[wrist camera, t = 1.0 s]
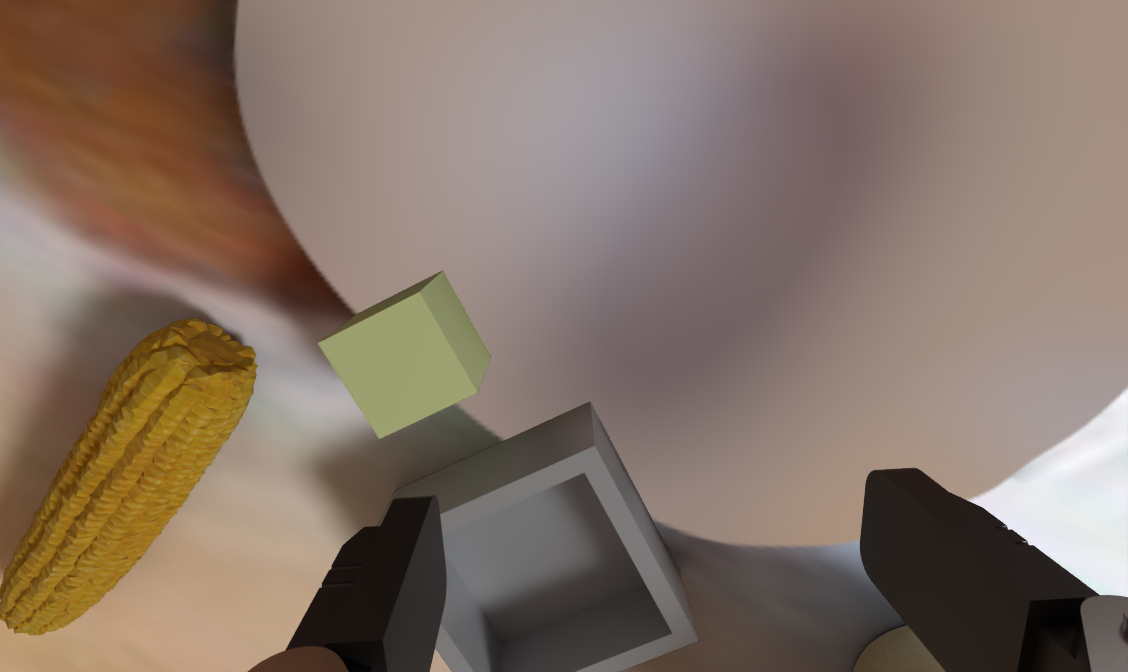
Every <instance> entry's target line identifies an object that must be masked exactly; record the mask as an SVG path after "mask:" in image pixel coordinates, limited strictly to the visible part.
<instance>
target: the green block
mask: <svg viewBox="0 0 1128 672" xmlns="http://www.w3.org/2000/svg"><path fill="white" fill-rule="evenodd" d="M318 345H319V346H320V348H321V350H322V351H323V353H324V354H325V356H326V357H327V359H328V360H329V362H330V364H331V365H332V367H333V368H334V370H335V371H336V373H337V374H338V376H339V377H340V379H341V381H342V382H343V384H344V385H345V387H346V388H347V390H348V391H349V393H350V394H351V396H352V398H353V399H354V401H355V402H356V404H357V405H358V407H359V408H360V410H361V411H362V413H363V415H364V416H365V418H366V419H367V421H368V422H369V424H370V425H371V427H372V428H373V430H374V432H375V433H376V435H377V436H378V438H379V439H381V438H383V437H385V436H387V435H389V434H391V433H394V432H396V431H398V430H400V429H402V428H404V427H406V426H408V425H410V424H413V423H415V422H417V421H419V420H421V419H423V418H425V417H427V416H430V415H432V414H434V413H436V412H438V411H440V410H442V409H444V408H447V407H449V406H451V405H453V404H455V403H457V402H459V401H461V400H464V399H465V398H468V397H470V396H472V395H474V394H476V393H478V390H479V388H480V385H481V382H482V380H483V377H484V374H485V372H486V369H487V366H488V364H489V361H490V358H491V355H490V353H489V351H488V349H487V347H486V346H485V344H484V342H483V340H482V339H481V337H480V335H479V333H478V331H477V330H476V328H475V326H474V324H473V323H472V321H471V319H470V317H469V315H468V314H467V312H466V310H465V308H464V307H463V305H462V303H461V301H460V299H459V298H458V296H457V294H456V292H455V290H454V289H453V287H452V285H451V283H450V282H449V280H448V278H447V276H446V274H445V273H444V271H441V272H439V273H437V274H435V275H433V276H431V277H429V278H428V279H425V280H423V281H421V282H419V283H417V284H415V285H413V286H411V287H409V288H407V289H405V290H403V291H401V292H399V293H398V294H395V295H394V296H392V297H390V298H388V299H386V300H384V301H382V302H380V303H378V304H376V305H374V306H372V307H370V308H368V309H366V310H364V311H362V312H360V313H358V314H356V315H355V316H354V317H352V318H351V319H350V320H348V321H347V322H346V323H344V324H343V325H342V326H340V327H339V328H338V329H336V330H335V331H333V332H332V333H331V334H329V335H328V336H327V337H325V338H324V339H323V340H321V341H320V342H319V343H318Z"/></svg>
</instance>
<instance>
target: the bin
mask: <svg viewBox="0 0 1128 672" xmlns="http://www.w3.org/2000/svg"><path fill="white" fill-rule="evenodd" d="M427 495H436V497H437V499H438V503H439V509H440V517H441V526H442V535H443V544H444V553H445V562H446V572H447V589H446V600H445V606H444V611H443V615H442V619H441V624H440V628H439V633H438V637H437V641H436V646H435V648H436V650H437V651H438V653H439V654H440V656H441V657H442V658H443V660H444V661H445V663H446V664H447V666H448V667H449V669H450V670H451V671H452V672H620V671H623V670H625V669H628V668H630V667H633V666H636V665H638V664H641V663H643V662H646V661H648V660H651V659H654V658H656V657H659V656H661V655H664V654H667V653H669V652H672V651H674V650H677V649H679V648H682V647H685V646H687V645H690V644H692V643H695V642H698V641H699V639H698V635H697V632H696V628H695V624H694V621H693V617H692V614H691V610H690V606H689V603H688V599H687V595H686V592H685V588H684V585H683V581H682V577H681V574H680V572H679V570H678V568H677V566H676V564H675V562H674V560H673V558H672V556H671V554H670V552H669V551H668V549H667V547H666V545H665V543H664V541H663V539H662V537H661V535H660V533H659V531H658V530H657V528H656V526H655V524H654V522H653V520H652V518H651V516H650V514H649V512H648V510H647V509H646V507H645V505H644V503H643V501H642V499H641V497H640V495H639V493H638V491H637V489H636V488H635V486H634V484H633V482H632V480H631V478H630V476H629V475H628V472H627V470H626V468H625V467H624V465H623V463H622V461H621V459H620V457H619V455H618V453H617V451H616V449H615V448H614V446H613V444H612V442H611V440H610V438H609V436H608V434H607V432H606V430H605V428H604V426H603V425H602V423H601V421H600V419H599V417H598V415H597V413H596V411H595V409H594V407H593V405H592V404H591V402H588V403H586V404H583V405H581V406H579V407H577V408H575V409H572V410H570V411H568V412H566V413H564V414H562V415H559V416H557V417H555V418H553V419H551V420H548V421H546V422H544V423H542V424H540V425H537V426H535V427H533V428H531V429H529V430H526V431H524V432H522V433H520V434H518V435H516V436H514V437H511V438H509V439H507V440H505V441H502V442H500V443H498V444H496V445H494V446H491V447H489V448H487V449H485V450H483V451H480V452H478V453H476V454H474V455H472V456H470V457H467V458H465V459H463V460H461V461H459V462H456V463H454V464H452V465H450V466H448V467H445V468H443V469H441V470H439V471H437V472H434V473H432V474H430V475H428V476H426V477H424V478H421V479H419V480H417V481H415V482H413V483H410V484H408V485H406V486H404V487H402V488H399V489H397V490H395V491H394V493H393V495H392V497H391V499H390V501H389V503H388V505H387V507H386V509H385V511H384V513H383V515H382V517H381V519H380V521H379V522H378V524H377V526H381V524H382V522H383V520H384V517H385V515H386V513H387V511H388V509H389V507H390V505H391V502H392V500H393V499H394V498H395V497H410V496H427Z"/></svg>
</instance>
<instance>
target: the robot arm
mask: <svg viewBox="0 0 1128 672" xmlns="http://www.w3.org/2000/svg"><path fill="white" fill-rule="evenodd" d="M860 553H861V559H862V562H863V566H864V568H865V571H866V573H867V575H868V577H869V578H870V580H871V581H872V582H873V584H874V585H875V586H876V587H877V588H878V590H879V591H880V592H881V593H882V595H883V596H884V597H885V598H886V599H887V601H888V602H889V603H890V604H891V606H892V607H893V608H894V609H895V610H896V612H897V613H898V614H899V615H900V617H901V618H902V619H903V620H904V621H905V623H906V624H907V625H908V626H909V628H910V629H911V630H912V631H913V632H914V634H915V635H916V636H917V637H918V639H919V640H920V641H921V642H922V643H923V645H924V646H925V647H926V648H927V650H928V651H929V652H930V653H931V654H932V656H933V657H934V658H935V659H936V661H937V662H938V663H939V664H940V665H941V667H942V668H943V669H944V670H945V672H1128V597H1123V596H1114V595H1099V594H1098V593H1096V592H1095V591H1094V590H1092V589H1091V588H1090V587H1088V586H1087V585H1086V584H1084V583H1083V582H1082V581H1080V580H1079V579H1078V578H1076V577H1075V576H1074V575H1072V574H1071V573H1070V572H1068V571H1067V570H1065V569H1064V568H1063V567H1061V566H1060V565H1059V564H1057V563H1056V562H1055V561H1053V560H1052V559H1051V558H1049V557H1048V556H1047V555H1045V554H1044V553H1043V552H1041V551H1040V550H1039V549H1037V548H1036V547H1035V546H1033V545H1028V541H1027V540H1025V539H1024V538H1023V537H1021V536H1020V535H1019V534H1017V533H1016V532H1015V531H1013V530H1008V528H1007V525H1005V524H1004V523H1003V522H1001V521H1000V520H999V519H997V518H996V517H995V516H993V515H992V514H991V513H989V512H988V511H987V510H985V509H984V508H982V507H980V506H978V505H976V504H974V503H971V502H969V501H967V500H965V499H963V498H961V497H958V496H956V495H954V494H952V493H949V492H948V491H947V490H945V489H944V488H943V487H942V486H940V485H939V484H938V483H936V482H935V481H934V480H932V479H931V478H930V477H929V476H927V475H926V474H925V473H923V472H922V471H921V470H919V469H917V468H902V469H886V470H874V471H871V472H870V473H869V475H868V477H867V480H866V485H865V497H864V507H863V517H862V527H861V537H860ZM446 589H447V572H446V562H445V553H444V544H443V535H442V526H441V517H440V509H439V503H438V499H437V497H436V495H427V496H410V497H395V498H394V499H393V500H392V502H391V505H390V507H389V509H388V511H387V513H386V515H385V517H384V520H383V522H382V524H381V526H373V527H364V528H362V529H361V530H360V531H359V532H358V533H357V534H355V535H354V536H353V537H352V538H351V539H350V540H348V541H347V542H346V543H345V544H344V545H343V546H342V548H341V549H340V551H339V553H338V555H337V557H336V559H335V560H334V562H333V564H332V568H331V570H329V571H328V573H327V575H326V577H325V579H324V581H323V582H322V588H319V590H318V592H317V593H316V595H315V597H314V599H313V601H312V603H311V604H310V606H309V608H308V610H307V612H306V613H305V615H304V617H303V619H302V621H301V623H300V624H299V626H298V628H297V630H296V632H295V634H294V635H293V637H292V639H291V641H290V643H289V645H288V646H287V648H286V650H285V651H283V652H280V653H278V654H276V655H273V656H271V657H269V658H267V659H266V660H264V661H262V662H260V663H259V664H257V665H256V666H254V667H253V668H252V669H250V670H249V671H248V672H430V667H431V663H432V659H433V654H434V650H435V646H436V641H437V637H438V633H439V628H440V624H441V619H442V615H443V611H444V606H445V600H446Z"/></svg>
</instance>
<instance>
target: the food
mask: <svg viewBox="0 0 1128 672" xmlns="http://www.w3.org/2000/svg"><path fill="white" fill-rule="evenodd" d="M255 357H256V354H255V352H254V350H253V348H252V347H250V346H244V345H242V344H241V343H239V342H237V341H234V340H232V339H231V337H230V336H229V335H228V334H226V333H225V332H223V330H222V328H221V327H218V326H216V325H213V324H211V323H209V324H205V322H204V321H202V320H200V319H198V318H197V317H195V318H190V319H184V320H180V321H177V322H173V323H171V324H170V325H169V326H167V327H165V328H162V329H160V330H158V331H156V332H154V333H152V334H150V335H148V336H147V337H146V338H144V339H143V340H142V341H141V342H140V343H139V344H138V345H137V346H136V347H135V348H134V349H133V350H132V351H131V353H130V354H129V355H128V356H127V357H126V358H125V359H124V361H123V362H122V363H121V364H120V365H119V366H118V367H117V368H116V370H115V371H114V372H113V374H112V376H111V377H110V379H109V381H108V384H107V387H106V389H105V391H104V392H103V393H102V396H101V400H100V403H99V405H98V409H97V412H96V414H95V416H94V417H92V418H91V419H89V420H88V426H87V428H86V429H85V430H84V432H83V434H81V435H80V437H79V438H78V440H77V441H76V442H75V444H74V448H73V449H72V451H71V452H69V453H68V454H67V459H66V460H65V462H64V463H63V465H62V466H61V468H60V470H59V471H58V473H57V474H56V478H55V479H54V481H53V482H52V484H51V487H50V488H49V491H48V493H47V495H46V497H45V498H44V500H43V502H42V503H41V504H42V507H41V508H40V509H39V510H38V511H37V512H36V513H35V516H34V520H33V522H32V524H31V526H30V527H29V529H28V531H27V532H26V534H25V535H24V537H23V538H22V539H21V542H20V544H19V545H18V546H17V549H16V552H15V554H14V558H13V559H12V560H11V562H10V565H8V566H7V569H6V571H5V573H4V577H3V582H2V584H1V588H0V599H1V602H0V619H1V620H3V621H5V622H6V624H7V627H8V629H12V628H14V633H28V634H29V635H43V634H44V633H45V632H47V631H49V632H51V631H56V630H58V629H59V628H63V627H65V626H66V625H68V624H70V623H71V622H73V621H74V620H76V619H77V618H78V617H80V616H81V615H82V614H84V613H85V612H86V611H87V610H88V609H89V608H90V607H92V606H93V605H95V604H96V603H98V602H99V601H100V599H101V598H102V597H104V595H105V593H107V592H108V591H110V590H111V589H113V588H114V587H115V586H116V584H117V583H118V581H119V580H120V579H121V578H122V577H123V576H124V575H126V574H127V573H128V572H129V571H130V569H131V568H132V567H133V565H134V564H135V563H136V562H138V561H139V560H140V559H141V557H142V555H144V554H145V552H146V550H147V549H148V547H149V546H150V545H151V543H152V542H153V540H154V539H155V538H156V537H157V536H158V535H160V534H161V531H162V529H163V528H164V527H165V526H166V524H167V523H168V521H169V520H170V519H171V518H172V517H173V516H174V515H176V514H177V511H178V509H179V508H180V507H182V505H183V503H184V502H185V501H186V500H187V498H188V495H189V493H190V492H191V490H192V489H193V487H194V486H195V484H196V483H197V482H198V481H199V480H200V477H201V476H202V475H203V474H204V471H205V469H206V468H207V466H209V465H211V462H213V460H214V458H215V456H216V455H217V453H218V452H219V450H220V448H221V447H222V445H223V444H224V443H225V442H226V441H227V440H228V439H229V436H230V435H231V432H233V431H234V430H235V427H236V426H237V425H238V423H239V420H240V419H241V418H242V416H243V413H244V412H245V410H246V408H247V405H248V403H249V400H250V396H251V395H253V385H254V382H255V378H256V373H255V370H256V368H257V366H258V365H257V364H256V363H255V362H254V360H255Z"/></svg>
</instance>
